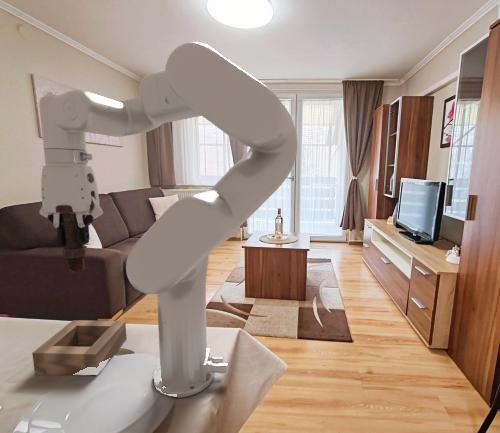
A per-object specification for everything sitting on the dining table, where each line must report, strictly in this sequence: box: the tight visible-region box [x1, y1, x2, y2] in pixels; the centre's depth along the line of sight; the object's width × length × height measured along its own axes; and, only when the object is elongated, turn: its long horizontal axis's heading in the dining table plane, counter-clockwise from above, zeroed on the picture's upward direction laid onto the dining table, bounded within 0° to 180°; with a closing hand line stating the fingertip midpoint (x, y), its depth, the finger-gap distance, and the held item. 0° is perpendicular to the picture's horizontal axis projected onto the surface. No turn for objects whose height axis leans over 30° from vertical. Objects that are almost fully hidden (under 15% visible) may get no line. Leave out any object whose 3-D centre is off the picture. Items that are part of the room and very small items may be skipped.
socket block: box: [31, 319, 127, 376], centre depth 67 cm, size 14×14×5 cm
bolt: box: [56, 205, 88, 274], centre depth 63 cm, size 6×5×15 cm
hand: (74, 243), depth 63 cm, fingers closed on bolt, 3 cm apart
